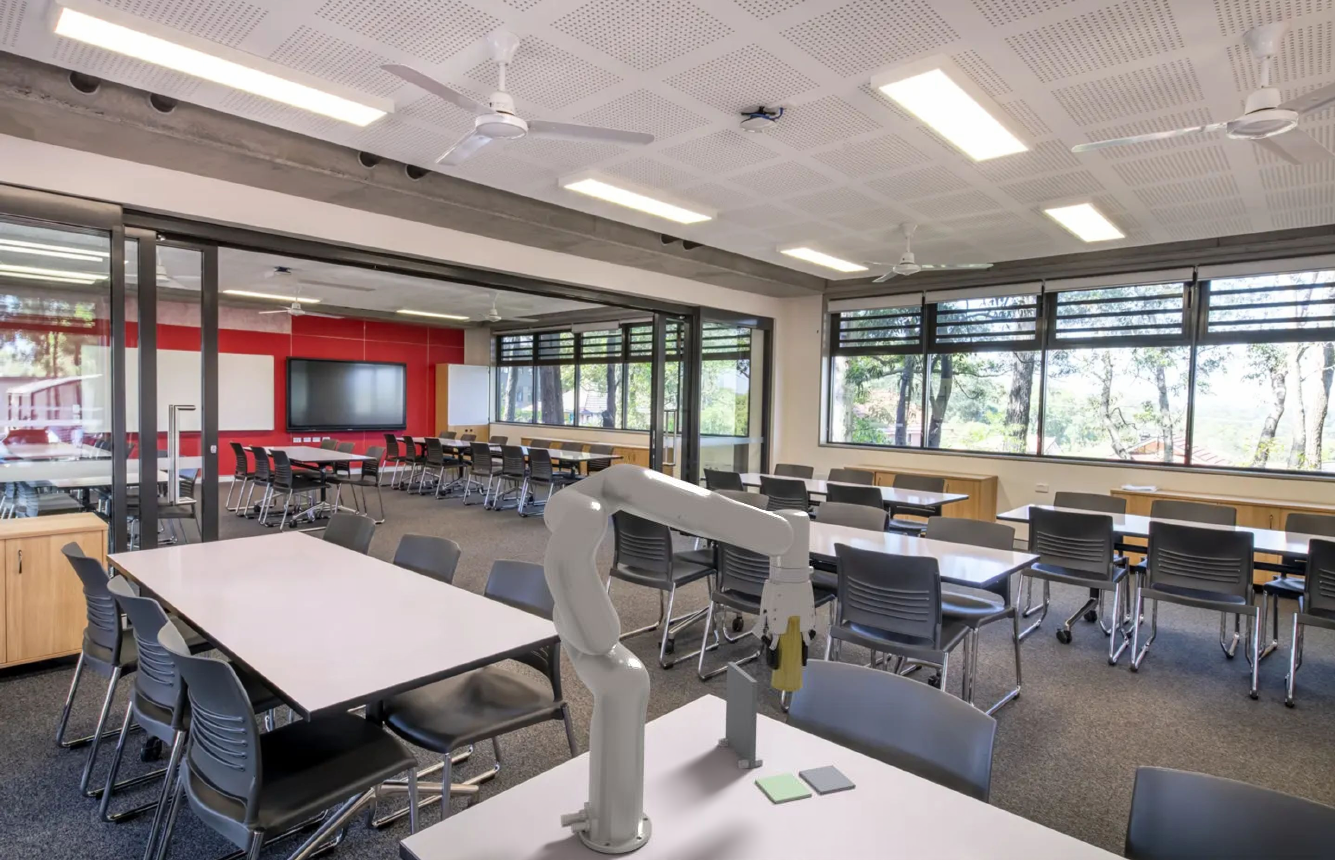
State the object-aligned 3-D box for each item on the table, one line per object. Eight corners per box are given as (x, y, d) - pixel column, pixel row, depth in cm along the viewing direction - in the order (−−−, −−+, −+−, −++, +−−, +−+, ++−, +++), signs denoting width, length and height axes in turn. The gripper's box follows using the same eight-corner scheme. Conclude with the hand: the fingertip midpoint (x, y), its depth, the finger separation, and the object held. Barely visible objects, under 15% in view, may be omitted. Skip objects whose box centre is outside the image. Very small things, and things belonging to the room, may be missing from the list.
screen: (741, 769, 142) (744, 683, 142) (717, 743, 153) (719, 662, 153) (763, 765, 144) (765, 680, 144) (737, 739, 155) (739, 660, 155)
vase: (773, 691, 132) (774, 617, 131) (768, 678, 138) (770, 608, 138) (805, 692, 132) (807, 617, 131) (799, 679, 138) (801, 608, 137)
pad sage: (775, 803, 130) (775, 800, 130) (755, 781, 138) (755, 779, 138) (811, 795, 133) (811, 793, 133) (790, 775, 141) (790, 772, 140)
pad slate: (820, 794, 134) (820, 791, 134) (799, 773, 141) (799, 771, 141) (855, 787, 136) (855, 784, 136) (832, 767, 144) (832, 765, 144)
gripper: (816, 566, 141) (814, 654, 141) (740, 572, 135) (738, 663, 135) (837, 575, 134) (835, 667, 134) (758, 581, 128) (756, 678, 128)
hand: (786, 664), depth 135 cm, fingers closed on vase, 5 cm apart
